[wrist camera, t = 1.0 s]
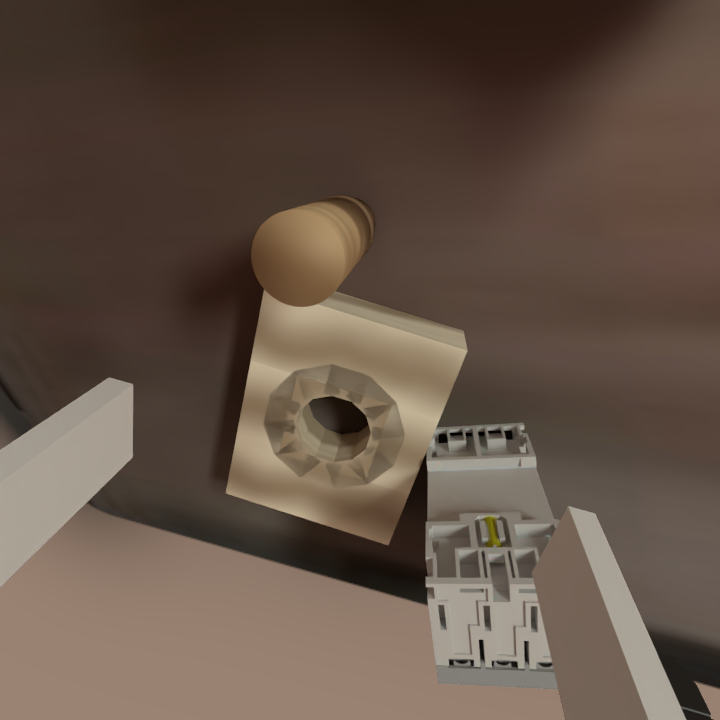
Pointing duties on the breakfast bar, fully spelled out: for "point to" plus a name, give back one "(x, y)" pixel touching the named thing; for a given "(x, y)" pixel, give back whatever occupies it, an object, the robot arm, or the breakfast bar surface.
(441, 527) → the circuit breaker
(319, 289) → the peg
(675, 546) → the breakfast bar surface
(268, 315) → the board
